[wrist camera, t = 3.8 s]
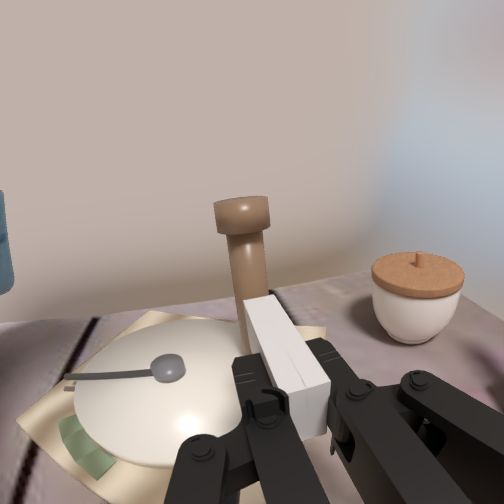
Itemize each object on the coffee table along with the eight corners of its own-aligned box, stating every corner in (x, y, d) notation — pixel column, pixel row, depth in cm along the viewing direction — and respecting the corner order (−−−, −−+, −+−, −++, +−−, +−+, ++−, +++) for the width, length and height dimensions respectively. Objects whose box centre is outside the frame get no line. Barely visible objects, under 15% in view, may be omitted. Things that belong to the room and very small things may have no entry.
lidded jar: (349, 325, 32) (351, 250, 29) (407, 299, 35) (413, 234, 32) (411, 371, 22) (430, 282, 19) (466, 330, 25) (482, 255, 22)
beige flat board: (22, 430, 16) (13, 418, 15) (152, 319, 38) (149, 309, 38) (255, 565, 8) (252, 562, 7) (326, 338, 30) (327, 325, 29)
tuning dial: (43, 458, 12) (-59, 285, 8) (94, 338, 30) (60, 223, 26) (318, 441, 15) (323, 217, 11) (259, 315, 33) (244, 189, 29)
